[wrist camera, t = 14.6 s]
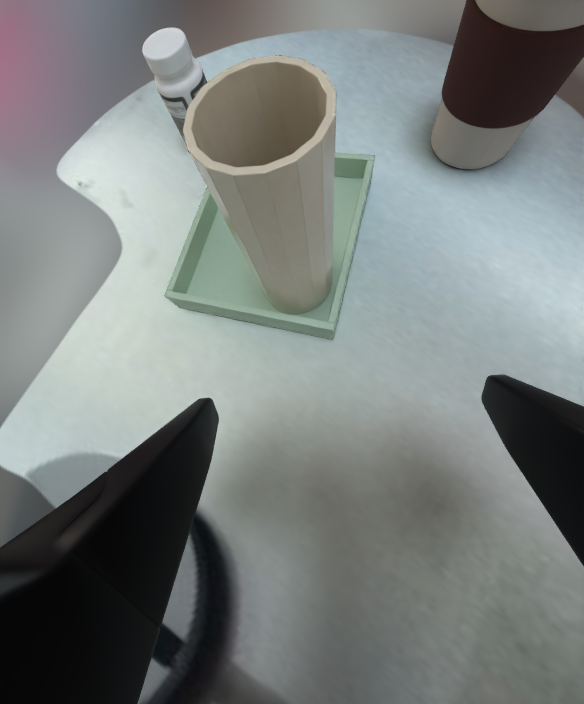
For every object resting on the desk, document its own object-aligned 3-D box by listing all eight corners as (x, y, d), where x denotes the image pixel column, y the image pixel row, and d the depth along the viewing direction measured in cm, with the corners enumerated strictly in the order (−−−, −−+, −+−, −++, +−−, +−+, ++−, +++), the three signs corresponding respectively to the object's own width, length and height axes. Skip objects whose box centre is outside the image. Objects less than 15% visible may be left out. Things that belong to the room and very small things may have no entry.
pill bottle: (218, 118, 32) (180, 15, 24) (231, 144, 30) (196, 44, 22) (182, 135, 32) (132, 39, 24) (194, 162, 30) (145, 69, 22)
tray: (332, 339, 23) (333, 330, 21) (178, 307, 26) (163, 295, 24) (371, 179, 27) (375, 155, 24) (232, 166, 30) (223, 143, 27)
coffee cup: (522, 101, 26) (750, -278, 12) (529, 183, 24) (822, -165, 10) (416, 107, 28) (507, -223, 14) (414, 184, 26) (520, -114, 11)
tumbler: (343, 299, 23) (361, 134, 10) (274, 324, 24) (202, 197, 10) (317, 241, 25) (304, 35, 12) (254, 265, 25) (170, 91, 12)
